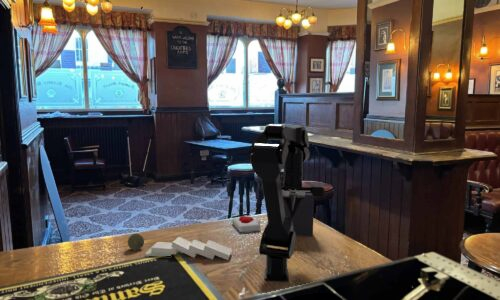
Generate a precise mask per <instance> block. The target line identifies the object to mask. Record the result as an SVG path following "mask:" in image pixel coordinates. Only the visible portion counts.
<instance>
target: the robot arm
mask: <svg viewBox="0 0 500 300" xmlns="http://www.w3.org/2000/svg"><path fill="white" fill-rule="evenodd" d="M308 133H309V132H308V130H307V129H306V127H305V126H303V125H284V124H283V123H282V124H280V123H279V124H278V123H276V124H275V123H269V124H266V125H265V128H264V130H263V131H262V132H260V134H259V135H258V134H257V136H256V137H254V139H253V142H252V143H251V146H250V148H249V151H248V160H249V162H250V165H251V168H252V171H253V173H255V175H256V176H257V177H258V178H260V181H261V196H263V197H264V198H263V199H264V205H265V212H266V217H267V222H266V224H265V227H264V229H263V232H262V234H261V238H260V243H259V246H258V247H259V248H258V252H259V255H260V256H261V255H262V256H265V257H266V258H265V260H266V261H265V262H266V263H265V265H266V266H265V268H264V281H282V282H283V281H285V282H287V281H290V275H289V269H288V260H291V258H292V257H293V255H294V253H295V245H296V235H295V232H294V230H293V223H292V218H291V217H294V215H295V212H296V210H297V207H298V205H299V204H300V202H301V200H302V199H305V193H312V195H313V196H314V198H315V197H317V198H320V197H321V198H325V195H326V194H325V193H326V192H325V191H326V190H325V187H324V186H323V185H322V184H321V183H309V186H303V171H304V170H303V164H304V163H305V162H307V161H308V160H309V158H310V155H311V153H310V150H309V148H310V141H309V134H308ZM272 140H273V141H280V143H281V144H280V143H279V144H278V143H268V142H269V141H272ZM282 170H283V171H282ZM282 185H283V186H282ZM290 193H294V202H293V209H292V205H291V197H290ZM283 199H284V200H285V202H286V204H287V206H288V209H289V213H290V216H291V217H285V211H284V203H283ZM278 247H279V248H278ZM283 248H284V249H283Z"/></svg>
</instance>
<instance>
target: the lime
mask: <svg viewBox="0 0 500 300" xmlns="http://www.w3.org/2000/svg"><path fill="white" fill-rule="evenodd" d="M144 242H145V239H144V236H142V235H141V234H139V233H133V234H131V235H130V236H129V237H128V240H127V246H128V248H129V249H130V250H132V251H140V249H142V248H143V246H144V245H145V244H144Z"/></svg>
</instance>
